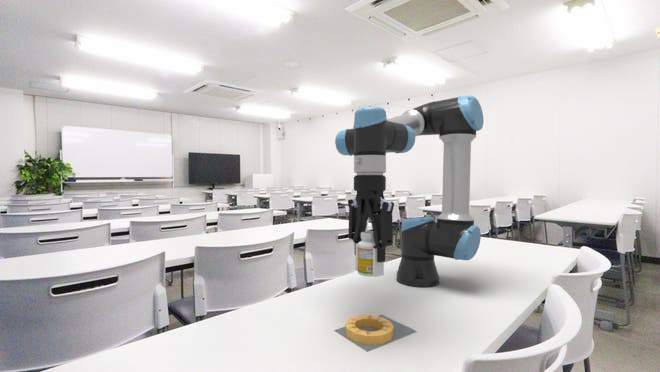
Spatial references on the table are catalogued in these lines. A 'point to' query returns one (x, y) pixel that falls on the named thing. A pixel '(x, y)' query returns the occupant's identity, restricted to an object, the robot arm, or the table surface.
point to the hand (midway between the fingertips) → (369, 272)
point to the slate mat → (399, 329)
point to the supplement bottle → (366, 254)
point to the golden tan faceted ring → (371, 336)
